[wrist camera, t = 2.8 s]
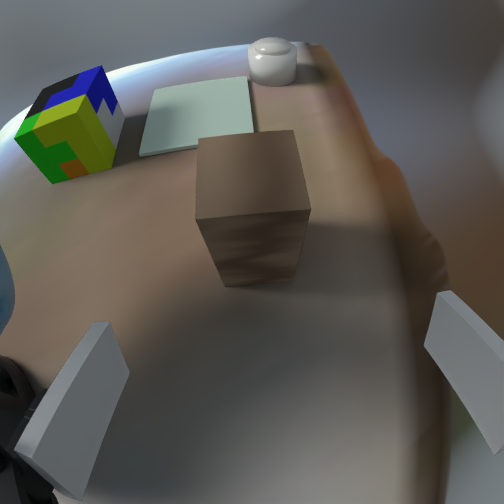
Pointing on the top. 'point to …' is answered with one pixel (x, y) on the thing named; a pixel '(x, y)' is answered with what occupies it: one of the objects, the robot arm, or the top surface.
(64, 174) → the puzzle toy
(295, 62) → the sugar bowl
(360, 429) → the top surface
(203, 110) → the pad
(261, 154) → the walnut block
